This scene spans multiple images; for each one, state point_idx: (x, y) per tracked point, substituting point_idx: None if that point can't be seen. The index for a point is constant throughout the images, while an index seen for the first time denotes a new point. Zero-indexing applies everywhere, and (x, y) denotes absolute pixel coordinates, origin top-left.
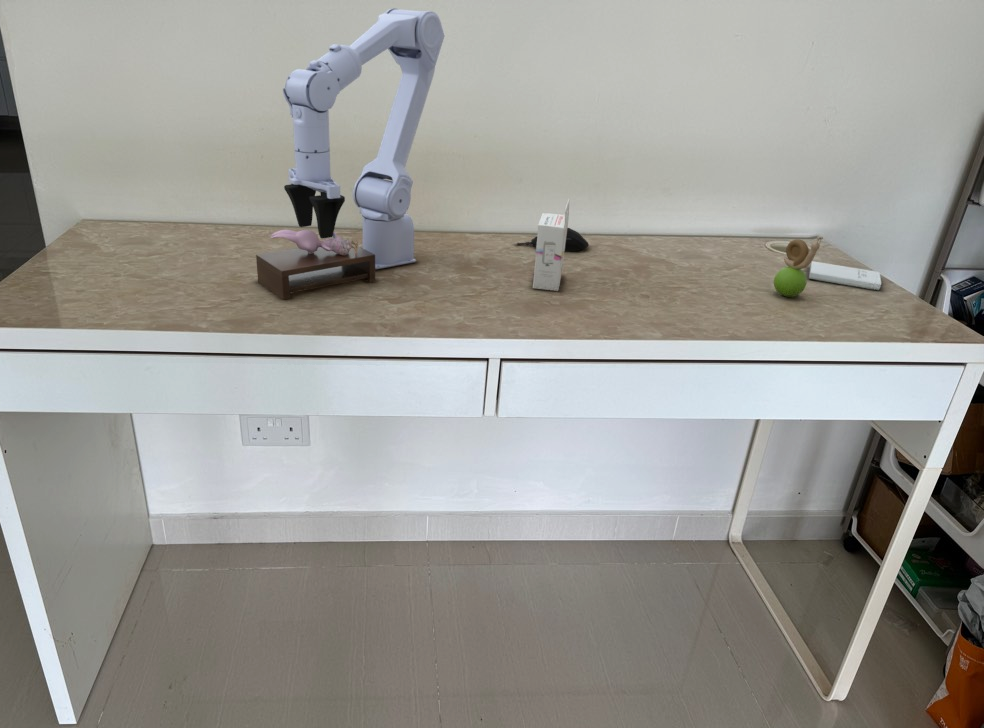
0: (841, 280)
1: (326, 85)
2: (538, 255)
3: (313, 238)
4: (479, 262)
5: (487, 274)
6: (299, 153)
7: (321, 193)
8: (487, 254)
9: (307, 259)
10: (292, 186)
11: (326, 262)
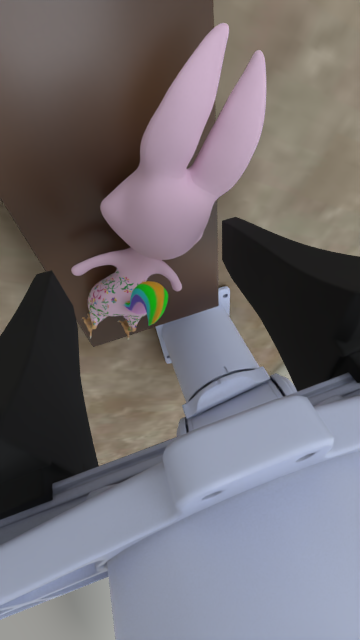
0: None
1: None
2: None
3: (129, 241)
4: (140, 411)
5: (91, 418)
6: None
7: (23, 496)
8: (165, 416)
9: (75, 174)
10: None
11: (30, 233)
